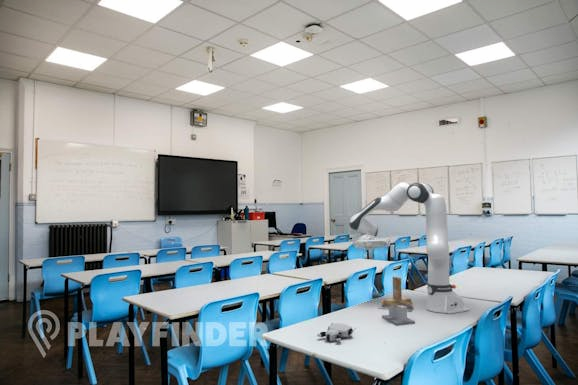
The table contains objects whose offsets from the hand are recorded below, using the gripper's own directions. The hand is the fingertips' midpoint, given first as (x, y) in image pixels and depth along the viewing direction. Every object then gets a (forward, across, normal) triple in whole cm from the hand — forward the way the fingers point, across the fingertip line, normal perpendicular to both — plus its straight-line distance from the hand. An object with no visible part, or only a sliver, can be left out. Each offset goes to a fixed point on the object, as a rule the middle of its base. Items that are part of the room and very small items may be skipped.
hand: (379, 244), depth 219 cm
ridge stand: (+23, -3, +36) cm, 43 cm away
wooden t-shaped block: (+23, -3, +28) cm, 36 cm away
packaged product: (+1, +9, +37) cm, 38 cm away
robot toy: (+38, -42, +36) cm, 67 cm away
